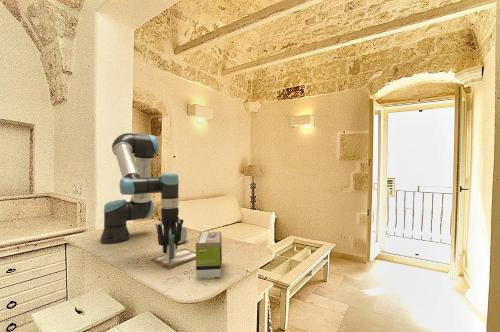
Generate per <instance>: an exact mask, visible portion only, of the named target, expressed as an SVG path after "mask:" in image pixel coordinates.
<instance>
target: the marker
mask: <svg viewBox="0 0 500 332" xmlns="http://www.w3.org/2000/svg"><path fill="white" fill-rule="evenodd" d="M168 246H169V261H172V260H171V259H174V234H169V237H168Z"/></svg>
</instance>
